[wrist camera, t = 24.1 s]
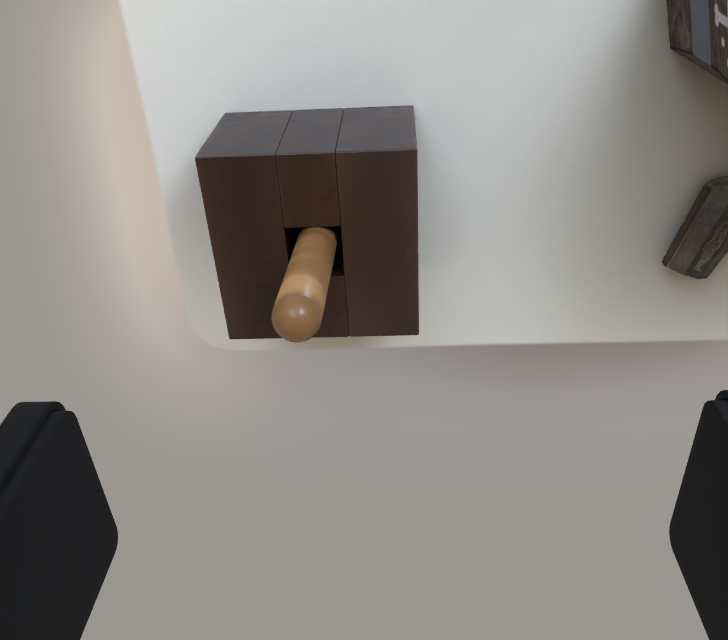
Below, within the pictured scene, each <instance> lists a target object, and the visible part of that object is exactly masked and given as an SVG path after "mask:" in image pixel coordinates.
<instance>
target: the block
mask: <svg viewBox="0 0 728 640" xmlns="http://www.w3.org/2000/svg"><path fill="white" fill-rule="evenodd" d="M727 251H728V177H724V178H719V179H715V180H713V181H710V182H708V183H707V184H705V185H704V187H703V188H702V191H701V192H700V194H699V196H698V197H697V199H696V201H695V203H694V204H693V206H692V208H691V210H690V212H689V213H688V215H687V217H686V219H685V221H684V222H683V224H682V226H681V228H680V229H679V231H678V233H677V235H676V237H675V238H674V240H673V242H672V244H671V245H670V247H669V249H668V251H667V254H666V255H665V256H664V258H663V261H662V263H663V265H664V266H666V267H668V268H670V269H672V270H675V271H677V272H679V273H681V274H684V275H686V276H689V277H692V278H696V279H703V278H707V277H708V276H709V275H710V274H711V272H712V271H713V270H714V269H715V267H716V266H717V265H718V263H719V262H720V261H721V259H722V258H723V257H724V255H725V254H726V252H727Z"/></svg>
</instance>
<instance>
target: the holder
mask: <svg viewBox="0 0 728 640" xmlns="http://www.w3.org/2000/svg"><path fill="white" fill-rule="evenodd" d="M195 161H196V166H197V171H198V177H199V182H200V187H201V192H202V198H203V203H204V208H205V213H206V218H207V224H208V229H209V234H210V239H211V245H212V250H213V255H214V260H215V266H216V271H217V276H218V281H219V286H220V292H221V297H222V302H223V307H224V313H225V318H226V323H227V328H228V333H229V338H230V339H264V338H282V337H281V336H280V335H278V333H277V332H276V331H275V329H274V327H273V324H272V310H273V307H274V305H275V302H276V299H277V296H278V293H279V290H280V287H281V284H282V282H283V279H284V276H285V273H286V270H287V267H288V264H289V261H290V259H291V256H292V253H293V250H294V247H295V244H296V241H297V239H298V236H299V233H300V230H301V227H331V226H340V225H341V226H340V231H339V236H338V241H337V246H336V251H335V256H334V261H333V266H332V271H331V276H330V281H329V286H328V291H327V296H326V302H325V307H324V312H323V317H322V322H321V325H320V328H319V330H318V331H317V333H316V334H315V335H314V336H313V337H349V336H396V335H418V334H419V290H418V177H417V141H416V130H415V118H414V107H413V106H389V107H365V108H345V109H343V108H340V109H315V110H294V111H292V110H289V111H265V112H240V113H225V114H224V116H223V117H222V119H221V120H220V122H219V123H218V124H217V126H216V127H215V129H214V130H213V132H212V133H211V135H210V136H209V138H208V139H207V141H206V142H205V143H204V145H203V146H202V148H201V149H200V151H199V152H198V154H197V155H196V157H195Z"/></svg>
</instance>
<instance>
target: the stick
mask: <svg viewBox="0 0 728 640" xmlns="http://www.w3.org/2000/svg"><path fill="white" fill-rule="evenodd" d="M340 226H341V225H340ZM340 226H331V227H301V230H300V233H299V236H298V239H297V241H296V244H295V247H294V250H293V253H292V256H291V259H290V261H289V264H288V267H287V270H286V273H285V276H284V279H283V282H282V284H281V287H280V290H279V293H278V296H277V299H276V302H275V305H274V307H273V310H272V324H273V327H274V329H275V331H276V332H277V333H278V335H280V336H281V337H282V338H284V339H285V340H288V341H290V342H303V341H306V340H308V339H310V338H312V337H313V336H314V335H315V334H316V333H317V331H318V330H319V328H320V325H321V322H322V317H323V312H324V307H325V302H326V296H327V291H328V286H329V281H330V276H331V271H332V266H333V261H334V256H335V251H336V246H337V241H338V236H339V231H340Z"/></svg>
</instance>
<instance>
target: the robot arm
mask: <svg viewBox="0 0 728 640" xmlns="http://www.w3.org/2000/svg"><path fill="white" fill-rule="evenodd" d="M669 532H670V533H669V534H670V542H671V546H672V549H673V552H674V555H675V557H676V560H677V562H678V564H679V567H680V569H681V572H682V574H683V576H684V579H685V582H686V584H687V586H688V589H689V591H690V594H691V596H692V599H693V601H694V604H695V606H696V608H697V611H698V613H699V616H700V618H701V621H702V623H703V625H704V628H705V630H706V633H707V635H708V638H709V640H728V390H724V391H720V392H719V394H718V395H717V396H716V399H715V400H711V401H707V402H706V403H705V405H704V407H703V410H702V413H701V417H700V420H699V424H698V427H697V431H696V434H695V438H694V441H693V445H692V449H691V452H690V456H689V459H688V463H687V466H686V470H685V473H684V477H683V481H682V484H681V487H680V491H679V495H678V498H677V501H676V505H675V508H674V512H673V515H672V519H671V523H670V531H669ZM117 543H118V532H117V527H116V524H115V521H114V518H113V516H112V513H111V510H110V508H109V505H108V502H107V499H106V497H105V494H104V491H103V489H102V486H101V483H100V480H99V478H98V475H97V472H96V469H95V467H94V464H93V461H92V458H91V456H90V453H89V450H88V448H87V445H86V442H85V439H84V437H83V434H82V431H81V429H80V426H79V423H78V420H77V418H76V416H75V414H74V413H73V412H72V411H66V410H65V408H64V406H63V405H62V404H61V403H60V402H20V403H18V404H16V405H15V406H14V407H13V408H12V409H11V411H10V412H9V414H8V415H7V417H6V418H5V419H4V421H3V422H2V423H1V425H0V640H80V638H81V636H82V633H83V631H84V628H85V626H86V623H87V621H88V619H89V616H90V614H91V611H92V609H93V606H94V604H95V601H96V599H97V596H98V594H99V591H100V589H101V586H102V584H103V582H104V579H105V577H106V574H107V571H108V569H109V567H110V564H111V561H112V559H113V557H114V554H115V551H116V548H117Z"/></svg>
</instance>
